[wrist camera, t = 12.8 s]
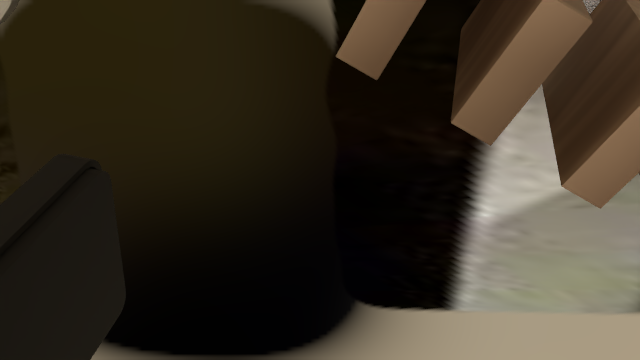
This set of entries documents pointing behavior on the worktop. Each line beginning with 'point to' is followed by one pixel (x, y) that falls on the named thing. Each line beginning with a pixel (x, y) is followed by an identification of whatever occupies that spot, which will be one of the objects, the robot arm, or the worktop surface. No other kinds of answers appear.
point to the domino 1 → (378, 34)
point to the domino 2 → (510, 58)
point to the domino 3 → (598, 104)
